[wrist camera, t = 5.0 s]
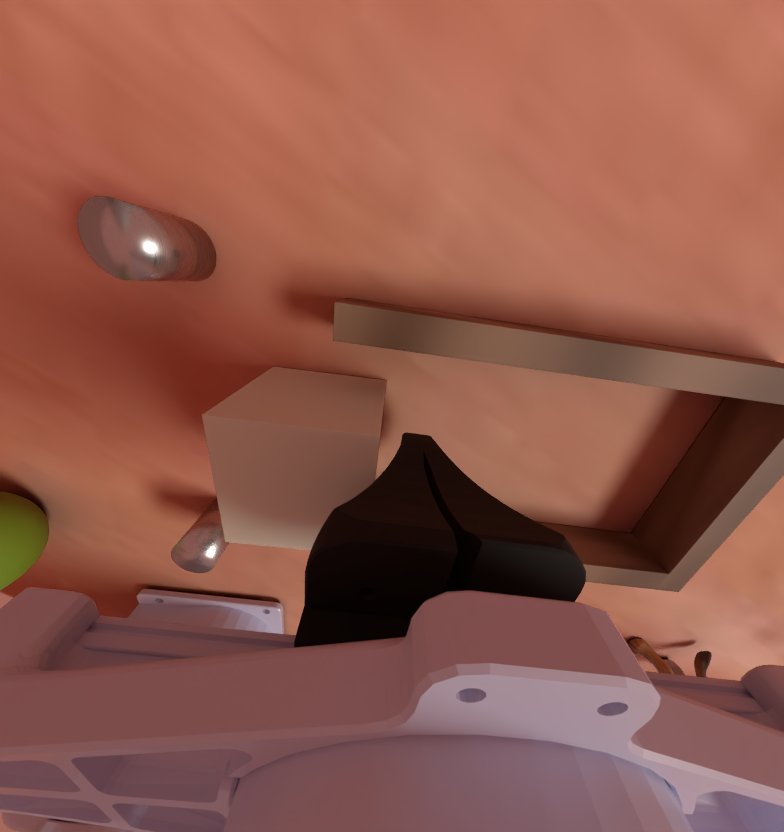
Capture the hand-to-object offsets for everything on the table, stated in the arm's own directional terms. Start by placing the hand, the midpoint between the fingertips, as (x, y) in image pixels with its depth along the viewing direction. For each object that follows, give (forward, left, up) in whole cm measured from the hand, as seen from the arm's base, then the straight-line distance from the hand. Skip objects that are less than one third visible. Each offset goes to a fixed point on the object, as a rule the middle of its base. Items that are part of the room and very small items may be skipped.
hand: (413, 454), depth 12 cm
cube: (-4, 0, -2) cm, 4 cm away
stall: (+5, 0, -2) cm, 5 cm away
